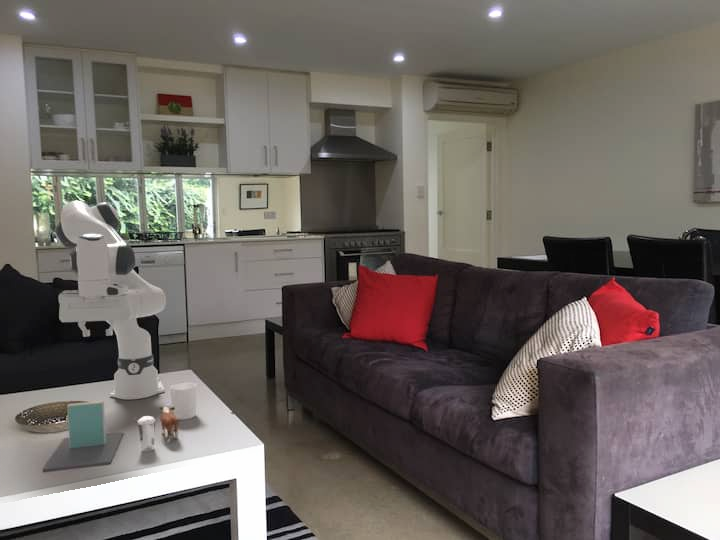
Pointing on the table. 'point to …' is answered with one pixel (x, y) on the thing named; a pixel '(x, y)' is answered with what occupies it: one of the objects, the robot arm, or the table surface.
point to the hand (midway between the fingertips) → (98, 335)
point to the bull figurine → (169, 421)
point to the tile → (86, 424)
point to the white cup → (184, 400)
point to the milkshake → (146, 432)
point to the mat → (83, 454)
